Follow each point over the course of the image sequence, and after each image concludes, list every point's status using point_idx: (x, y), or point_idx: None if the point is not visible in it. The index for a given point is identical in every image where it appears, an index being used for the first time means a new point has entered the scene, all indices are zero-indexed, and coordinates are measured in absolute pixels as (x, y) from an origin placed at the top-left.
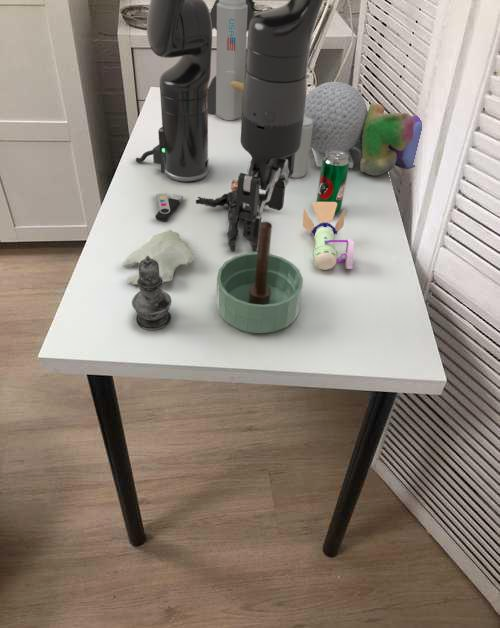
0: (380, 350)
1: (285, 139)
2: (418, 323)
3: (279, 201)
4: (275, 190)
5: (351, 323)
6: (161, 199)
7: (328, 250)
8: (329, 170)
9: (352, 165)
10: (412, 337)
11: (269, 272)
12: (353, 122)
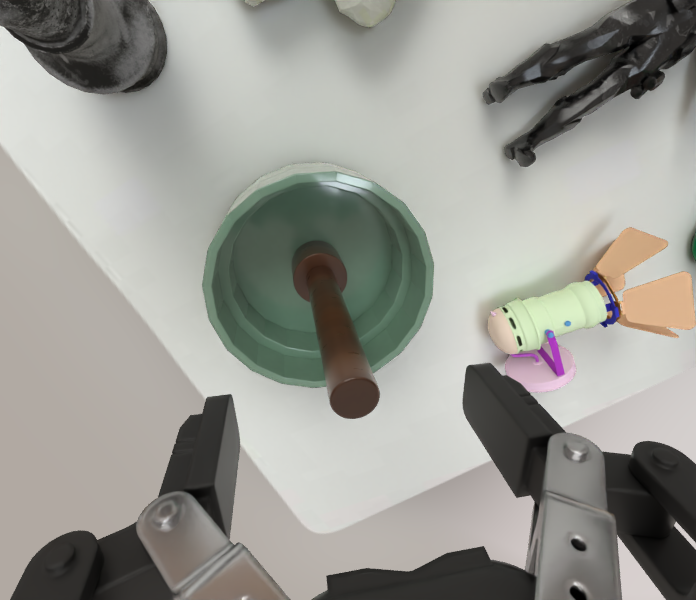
0: (325, 471)
1: None
2: (415, 487)
3: (482, 429)
4: (510, 448)
5: (364, 417)
6: None
7: (525, 344)
8: None
9: None
10: (379, 492)
11: (401, 260)
12: None
